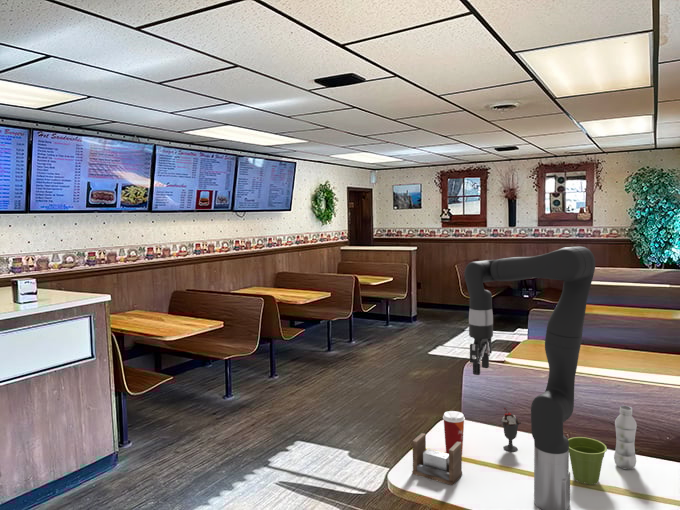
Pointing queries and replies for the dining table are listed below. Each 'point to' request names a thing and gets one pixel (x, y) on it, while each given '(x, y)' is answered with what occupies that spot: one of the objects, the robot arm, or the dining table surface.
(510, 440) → the sundae
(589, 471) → the plant pot
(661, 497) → the dining table surface
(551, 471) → the robot arm
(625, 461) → the plastic bottle
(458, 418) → the paper cup
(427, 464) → the metal block
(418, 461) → the wooden holder
